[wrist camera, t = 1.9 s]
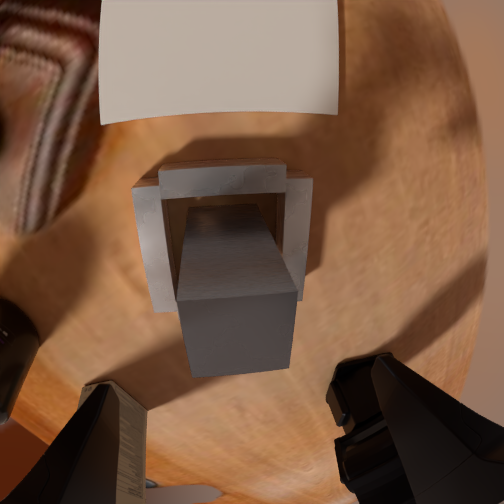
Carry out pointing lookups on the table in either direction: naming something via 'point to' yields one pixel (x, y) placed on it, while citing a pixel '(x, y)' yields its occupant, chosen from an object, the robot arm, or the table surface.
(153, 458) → the table surface
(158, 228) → the steel collar
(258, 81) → the pad
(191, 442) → the table surface
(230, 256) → the metal peg
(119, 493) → the skincare box
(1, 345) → the supplement bottle
